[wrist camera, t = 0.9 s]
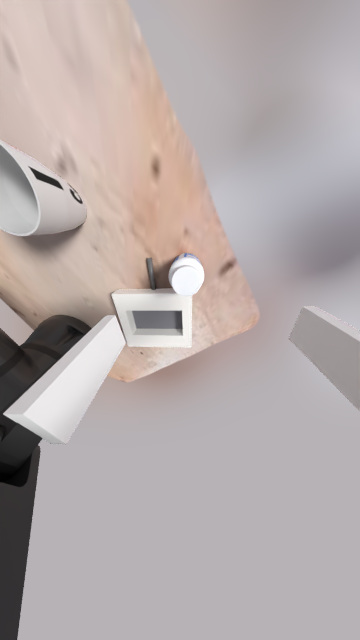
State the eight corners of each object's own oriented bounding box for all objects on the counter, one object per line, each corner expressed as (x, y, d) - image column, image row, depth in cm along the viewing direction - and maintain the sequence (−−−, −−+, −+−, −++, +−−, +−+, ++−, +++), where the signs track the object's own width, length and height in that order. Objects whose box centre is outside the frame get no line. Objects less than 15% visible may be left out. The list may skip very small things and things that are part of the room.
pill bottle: (178, 285, 28) (173, 306, 20) (168, 259, 25) (158, 270, 17) (204, 276, 27) (210, 294, 18) (196, 247, 24) (199, 253, 16)
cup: (102, 200, 21) (45, 177, 13) (87, 246, 25) (35, 251, 17) (48, 155, 19) (-64, 91, 11) (40, 212, 23) (-48, 199, 14)
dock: (132, 338, 37) (128, 346, 34) (109, 259, 26) (100, 261, 23) (191, 339, 35) (191, 347, 33) (192, 256, 25) (192, 258, 22)
